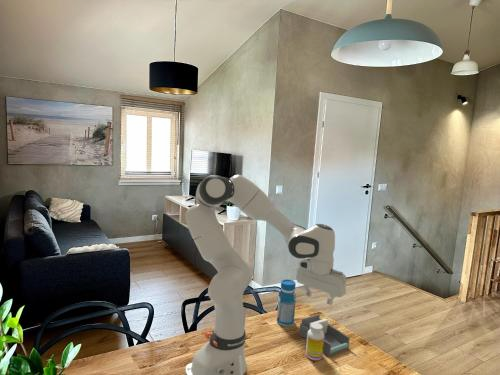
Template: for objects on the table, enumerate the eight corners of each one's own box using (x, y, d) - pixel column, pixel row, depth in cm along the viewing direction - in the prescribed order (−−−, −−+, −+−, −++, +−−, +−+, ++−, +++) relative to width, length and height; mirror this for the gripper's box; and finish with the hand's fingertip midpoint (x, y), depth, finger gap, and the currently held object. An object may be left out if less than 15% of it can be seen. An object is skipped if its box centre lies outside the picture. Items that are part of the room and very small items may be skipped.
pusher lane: (328, 356, 136) (330, 340, 135) (299, 334, 151) (300, 319, 150) (348, 348, 142) (350, 332, 141) (318, 327, 157) (319, 313, 156)
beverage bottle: (283, 328, 154) (286, 286, 152) (273, 319, 162) (275, 279, 159) (297, 324, 159) (301, 284, 156) (287, 316, 166) (290, 277, 164)
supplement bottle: (323, 361, 132) (326, 330, 130) (306, 360, 132) (309, 329, 130) (320, 351, 139) (323, 322, 137) (304, 350, 139) (307, 320, 137)
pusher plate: (311, 338, 146) (312, 324, 145) (308, 336, 147) (309, 323, 146) (326, 332, 151) (328, 320, 150) (324, 330, 152) (325, 318, 151)
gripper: (350, 271, 127) (347, 306, 128) (303, 257, 140) (301, 289, 142) (342, 275, 122) (339, 312, 123) (295, 261, 135) (293, 294, 137)
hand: (318, 299), depth 133 cm, fingers open, 8 cm apart
